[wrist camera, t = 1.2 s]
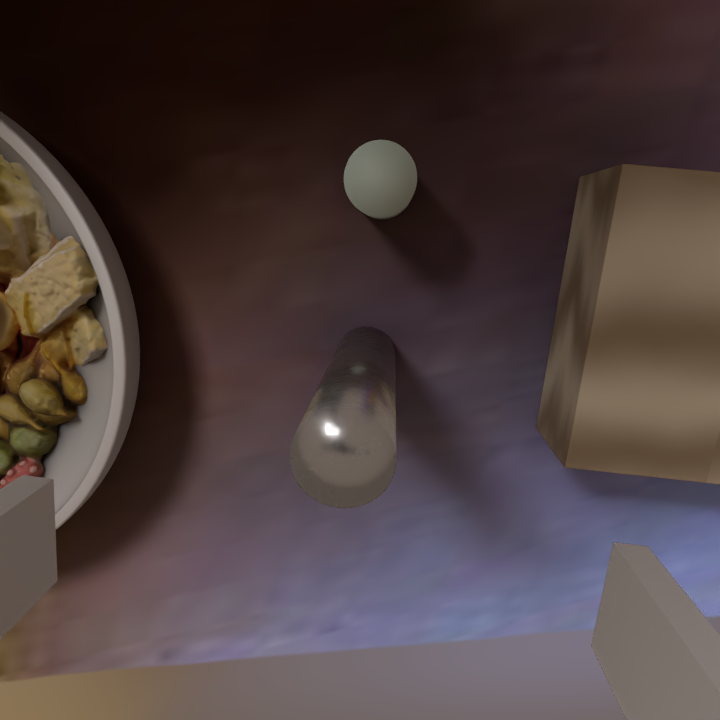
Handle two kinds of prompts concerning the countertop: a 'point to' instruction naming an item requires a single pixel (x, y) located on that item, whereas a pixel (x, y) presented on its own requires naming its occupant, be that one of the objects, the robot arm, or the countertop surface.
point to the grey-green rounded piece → (380, 179)
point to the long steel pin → (350, 424)
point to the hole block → (639, 327)
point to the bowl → (60, 329)
